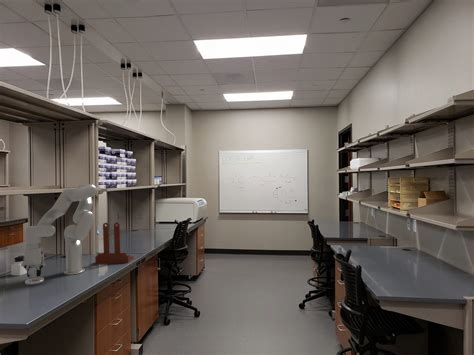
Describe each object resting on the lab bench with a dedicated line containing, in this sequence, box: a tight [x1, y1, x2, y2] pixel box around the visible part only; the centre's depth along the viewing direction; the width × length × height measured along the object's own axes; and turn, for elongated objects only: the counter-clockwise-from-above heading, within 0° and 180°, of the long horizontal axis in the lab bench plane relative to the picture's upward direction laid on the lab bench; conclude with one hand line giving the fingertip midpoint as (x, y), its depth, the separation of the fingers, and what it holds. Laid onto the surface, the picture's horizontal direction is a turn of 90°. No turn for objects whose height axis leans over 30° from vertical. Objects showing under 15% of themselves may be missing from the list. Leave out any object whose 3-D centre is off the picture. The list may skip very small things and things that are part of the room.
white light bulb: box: [28, 265, 40, 279], centre depth 203 cm, size 6×5×6 cm
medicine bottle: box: [10, 255, 27, 276], centre depth 224 cm, size 7×7×12 cm
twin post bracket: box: [94, 222, 135, 265], centre depth 252 cm, size 24×13×30 cm, turn 90°
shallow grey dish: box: [24, 276, 45, 286], centre depth 204 cm, size 10×10×2 cm
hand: (34, 275), depth 204 cm, fingers closed on white light bulb, 4 cm apart
